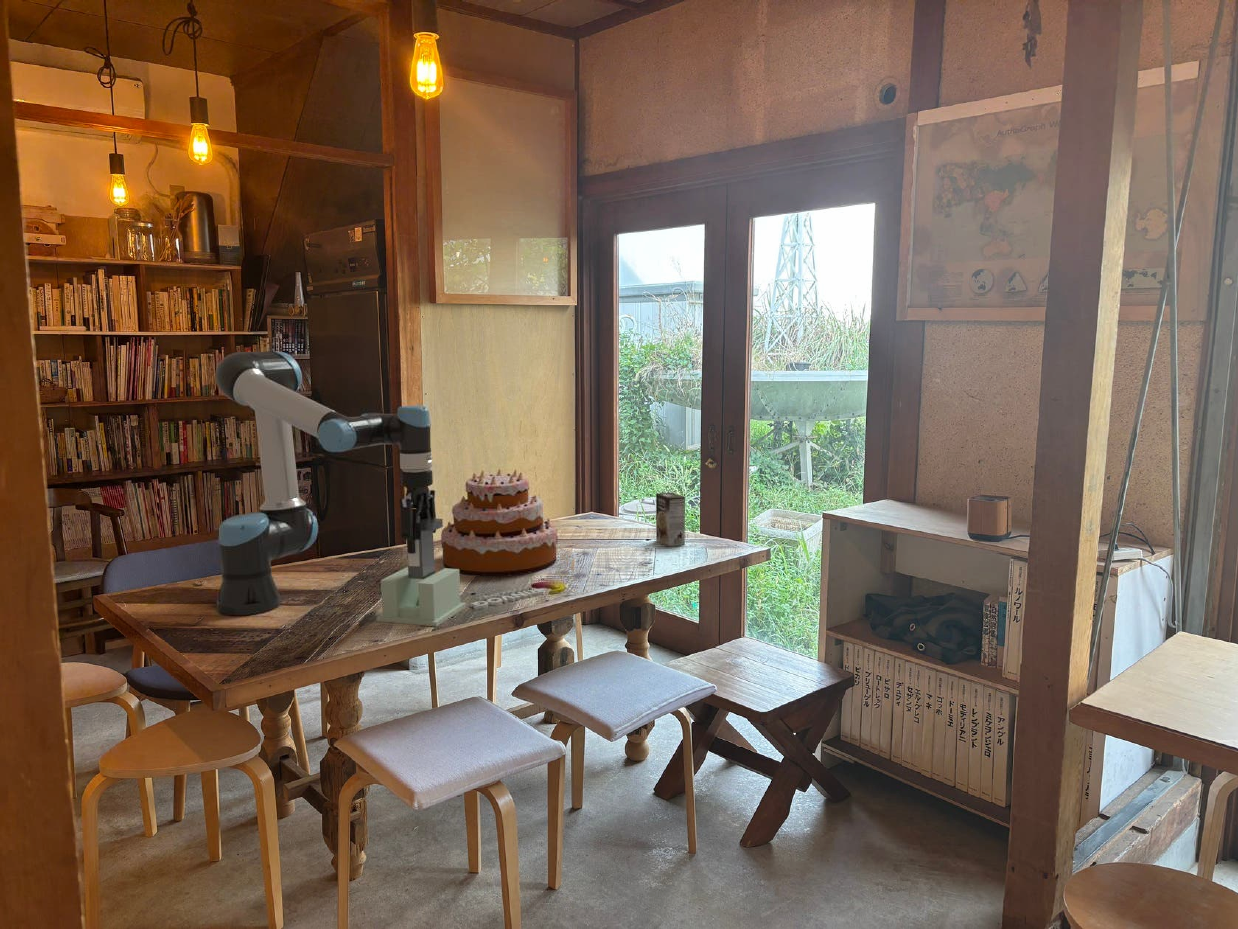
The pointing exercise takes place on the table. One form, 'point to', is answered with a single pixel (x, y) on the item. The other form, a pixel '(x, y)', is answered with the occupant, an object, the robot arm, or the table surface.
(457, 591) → the green slotted holder
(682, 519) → the instant coffee box
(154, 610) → the table surface
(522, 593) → the logo
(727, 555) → the table surface
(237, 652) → the table surface
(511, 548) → the cake
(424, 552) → the stepped grey block
